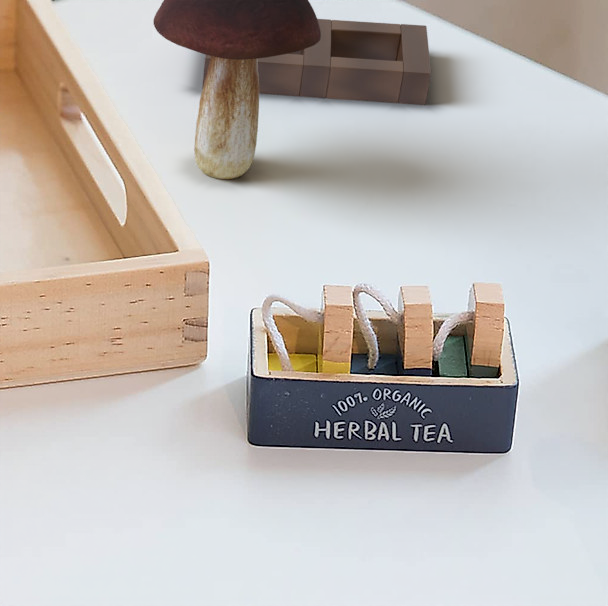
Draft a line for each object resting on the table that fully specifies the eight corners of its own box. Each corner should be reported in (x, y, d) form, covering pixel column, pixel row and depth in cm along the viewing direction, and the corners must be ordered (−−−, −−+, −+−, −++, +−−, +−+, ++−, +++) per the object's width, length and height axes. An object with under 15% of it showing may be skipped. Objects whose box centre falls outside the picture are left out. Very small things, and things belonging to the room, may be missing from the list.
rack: (419, 62, 122) (426, 25, 120) (423, 112, 115) (431, 73, 113) (209, 48, 124) (213, 11, 122) (201, 96, 117) (204, 58, 115)
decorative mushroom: (259, 134, 112) (283, -78, 102) (328, 201, 105) (362, -21, 95) (120, 155, 110) (132, -60, 100) (181, 225, 102) (199, 0, 92)
